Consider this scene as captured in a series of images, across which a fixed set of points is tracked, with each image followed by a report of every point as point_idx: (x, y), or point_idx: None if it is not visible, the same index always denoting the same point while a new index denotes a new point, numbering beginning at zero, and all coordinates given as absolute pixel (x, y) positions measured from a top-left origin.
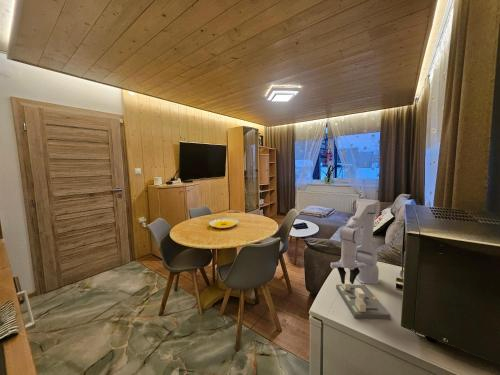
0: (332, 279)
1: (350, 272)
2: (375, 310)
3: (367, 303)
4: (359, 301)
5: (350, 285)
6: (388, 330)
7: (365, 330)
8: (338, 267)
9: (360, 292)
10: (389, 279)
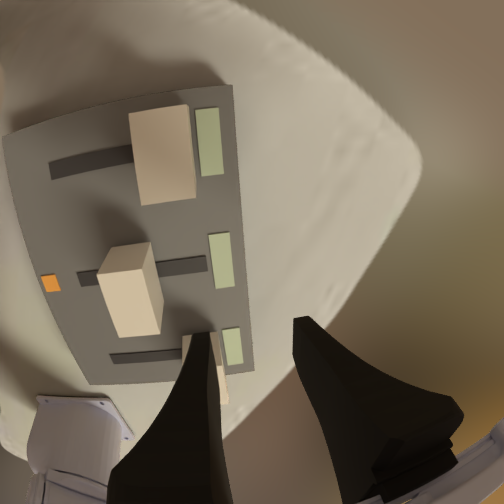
0: (245, 407)
1: (223, 458)
2: (67, 153)
3: (97, 220)
4: (174, 150)
5: (182, 361)
6: (64, 36)
7: (200, 5)
8: (452, 465)
9: (127, 284)
10: (9, 409)
